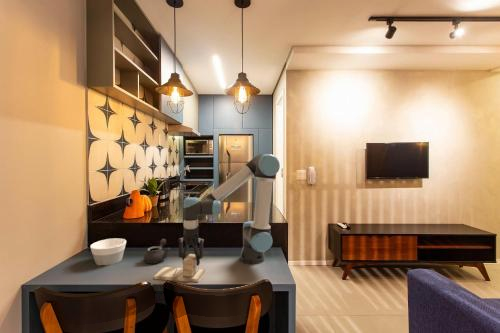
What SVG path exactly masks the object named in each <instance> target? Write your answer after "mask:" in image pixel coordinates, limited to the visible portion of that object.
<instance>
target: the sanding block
mask: <svg viewBox="0 0 500 333" xmlns="http://www.w3.org/2000/svg"><path fill="white" fill-rule="evenodd" d="M195 259H196V256H195V253H189V254H187V255H186V258H185V259H184V260H183V259H182V268H183V277H191V278H192V277H193V276H194V275H195V274H196V273H197V272H195ZM199 265H200V264H199ZM199 265H198V270H199V269H200V266H199Z"/></svg>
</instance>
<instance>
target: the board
mask: <svg viewBox="0 0 500 333" xmlns="http://www.w3.org/2000/svg"><path fill="white" fill-rule="evenodd" d="M206 271H207V270H206V269H204V268H203V269H202V268H201V269H200V268H199V270H198V271H197V273H196V274H195V275H194V276H193V277H192V278H191V277H183V267H170V266H164V267H163V268H161V269H160V270H159V271H158V272H157V273H156V274H154V275H153V277H154V278H153V279H154V280H163V281H164V280H166V281H178V282H179V281H180V282H192V283H194V282H195V283H199V282H200V281H201V280H202V278H203V277H204V275H205V274H206Z"/></svg>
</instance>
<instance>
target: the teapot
mask: <svg viewBox="0 0 500 333" xmlns="http://www.w3.org/2000/svg"><path fill="white" fill-rule="evenodd" d="M166 244H167V239H165V238H162V239H161V240H160V241H159V246H158V245H156V246H155V245H154V246H151V247H150V246H149V247H148V248H147V251H146V252H145V254H144V257H143V262H144V263H147V264H158V263H161V262H163V261H164V260H166V258H167V257H168V253H169V251H170V250H171V248H170V247H167V248H165V250H163V247H164V246H165V245H166Z"/></svg>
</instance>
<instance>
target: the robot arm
mask: <svg viewBox="0 0 500 333" xmlns="http://www.w3.org/2000/svg"><path fill="white" fill-rule="evenodd" d="M280 164H281V163H280V161H279V158H277V157H276V155H273V154H270V153H264V154H262V153H261V154H258V155H256V156H254V157H252V159H251V160H249V161H248V162H247V163H246V164H244V166H243V168H242V169H240V170H239V171H238V172H236V173H235V174H234V175H232V176H231V177H230V178H228V179H227V180H225V181H224V183H222V184H220V185H219V186H218V187H216V188H215V189H214V190H213V191H211V192H210V193H208V194H207V195H206V196H203V197H202V198H201V199H200V200H199V198H198V197H194V196H193V197H191V196H190V197H189V196H188V197H186V198H184V199H183V210H182V211H183V237H180V238H178V239H177V242H178V257H179V258H181V259H182V261H183V260H184V259H185V258H186V257H187V256H188V250H189V246H192V248H193V251H194V254H195V256H196V259H195V272H197V271H198V265H200V264H201V262H200V260H202V259H203V257H204V241H205V239H204V238H201V237H200V236H199V217H200V216H217V215H220V214H221V212H222V201H223V200H225V199H226V198H227V197H229V195H231V194H232V193H233V192H235V191H236V190H238V189H239V188H240V187H241V186H243V185H244V184H245V183H246V182H248V181H249V180H250V179H254V178H255V179H256V190H255V204H254V213H253V214H254V215H253V220H249V221H244V222H243V224H242V225H243V226H242V244H243V245H242V249H241V252H240V257H239V259H240V261H241V262H243V263H247V264H259V263H262V262H264V261H265V259H266V257H265V256H266V255H265V252H266V251H268V250H269V249H270V248H271V247H272V245H273V242H274V241H273V237H272V234H271V229H272V228H271V227H272V226H271V225H270V224H269V223H270V212H271V204H272V203H271V201H272V192H273V190H272V189H273V182H274V181H275V180H276V179H277V173H278V172H279V171H280V168H281V166H280ZM184 243H185V245H184ZM198 244H199V245H198ZM198 246H199V248H198Z"/></svg>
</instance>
